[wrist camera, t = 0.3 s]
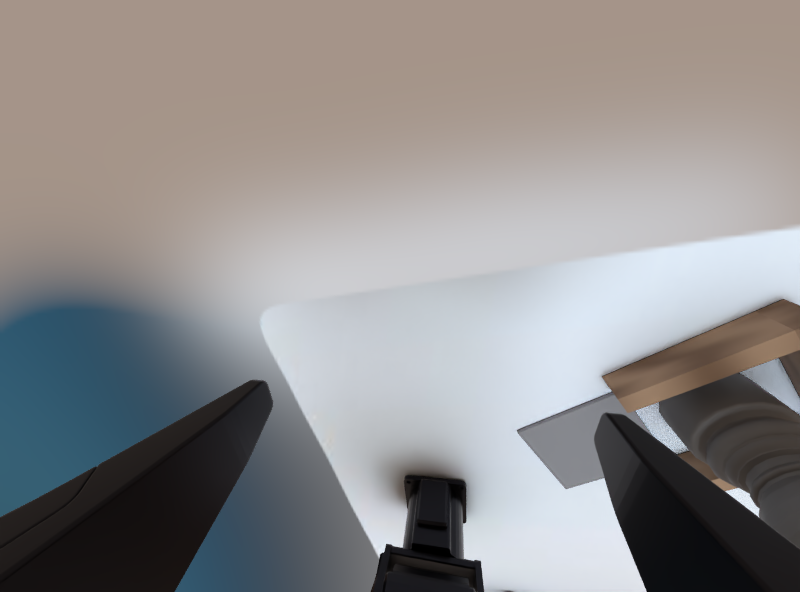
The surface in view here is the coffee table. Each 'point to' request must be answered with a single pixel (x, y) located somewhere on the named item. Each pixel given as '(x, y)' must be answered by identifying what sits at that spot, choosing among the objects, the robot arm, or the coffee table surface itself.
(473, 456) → the coffee table surface
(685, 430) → the candle holder
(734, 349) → the wooden u-shaped frame
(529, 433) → the mat
